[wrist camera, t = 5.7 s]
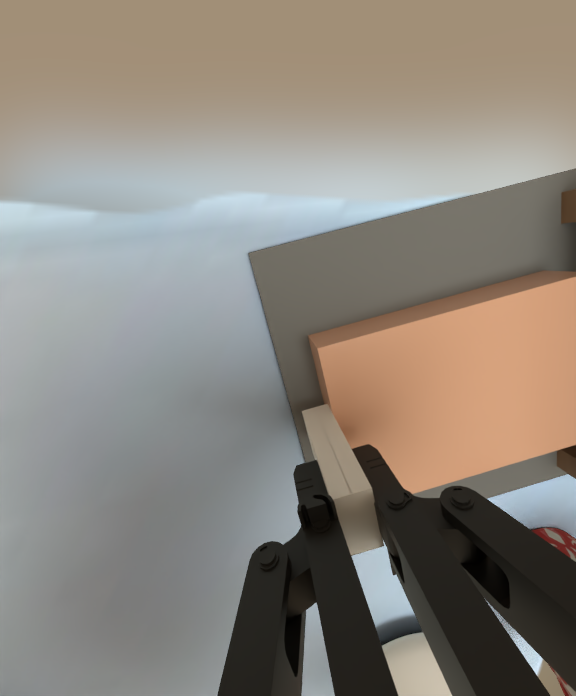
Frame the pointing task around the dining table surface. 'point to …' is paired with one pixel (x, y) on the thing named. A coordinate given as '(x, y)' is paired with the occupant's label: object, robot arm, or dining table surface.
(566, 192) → the grooved wooden block
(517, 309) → the tile
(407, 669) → the flower in vase
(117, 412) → the dining table surface
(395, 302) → the mat
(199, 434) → the dining table surface
